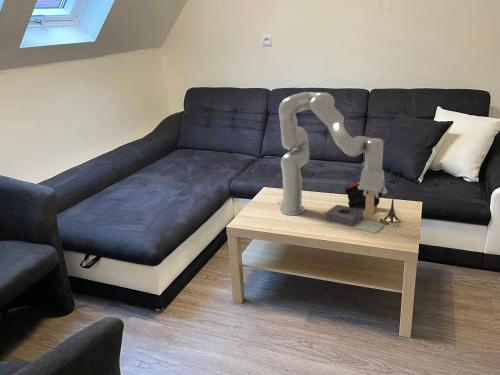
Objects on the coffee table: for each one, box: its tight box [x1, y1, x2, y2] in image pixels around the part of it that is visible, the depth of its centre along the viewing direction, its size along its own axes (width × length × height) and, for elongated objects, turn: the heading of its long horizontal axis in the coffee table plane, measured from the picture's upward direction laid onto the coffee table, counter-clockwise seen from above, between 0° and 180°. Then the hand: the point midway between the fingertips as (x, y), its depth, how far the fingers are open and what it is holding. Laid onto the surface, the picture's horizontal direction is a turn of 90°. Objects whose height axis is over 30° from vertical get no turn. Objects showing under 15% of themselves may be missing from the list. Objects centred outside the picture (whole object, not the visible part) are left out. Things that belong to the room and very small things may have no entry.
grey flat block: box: [325, 204, 364, 227], centre depth 211 cm, size 14×12×4 cm
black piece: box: [344, 180, 369, 209], centre depth 222 cm, size 4×13×15 cm, turn 83°
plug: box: [364, 191, 378, 217], centre depth 197 cm, size 4×4×10 cm
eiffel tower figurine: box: [379, 196, 402, 227], centre depth 206 cm, size 15×10×13 cm
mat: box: [354, 219, 385, 235], centre depth 201 cm, size 10×10×1 cm
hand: (371, 203), depth 197 cm, fingers closed on plug, 4 cm apart
